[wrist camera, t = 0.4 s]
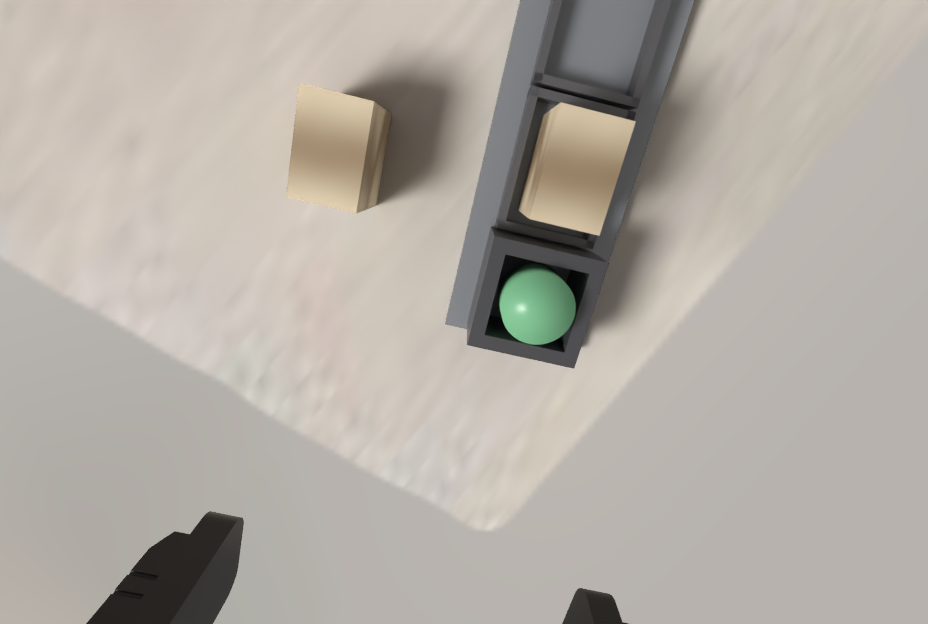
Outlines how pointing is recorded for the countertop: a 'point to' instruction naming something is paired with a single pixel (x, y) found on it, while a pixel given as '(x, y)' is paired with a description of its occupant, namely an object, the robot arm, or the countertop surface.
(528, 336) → the button
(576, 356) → the grey compartment tray
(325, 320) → the countertop surface
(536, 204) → the block
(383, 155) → the loose billet
